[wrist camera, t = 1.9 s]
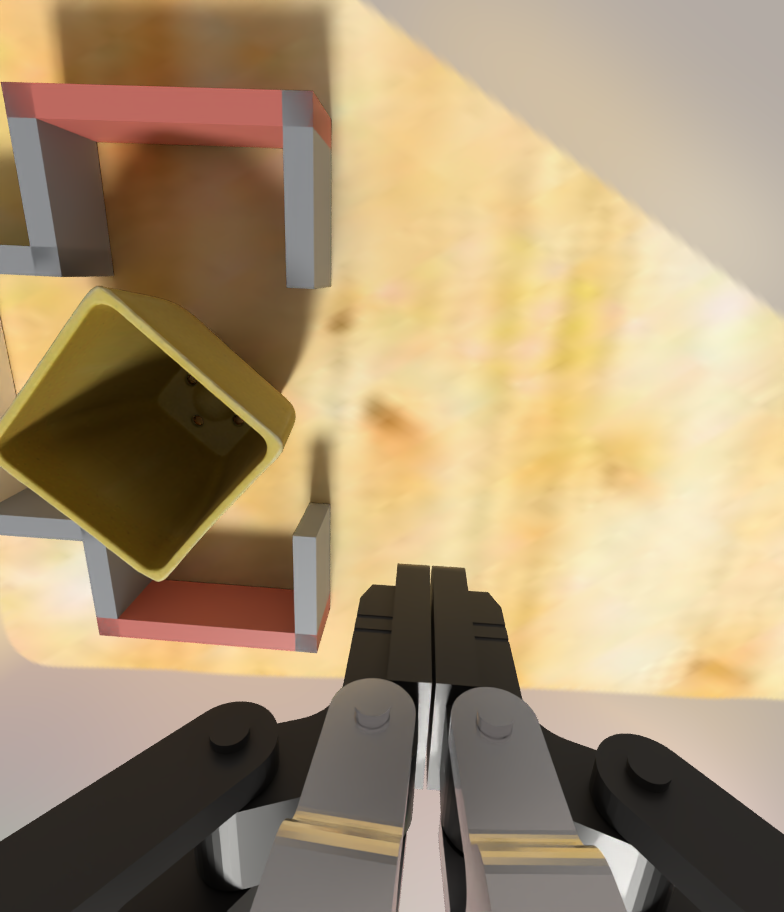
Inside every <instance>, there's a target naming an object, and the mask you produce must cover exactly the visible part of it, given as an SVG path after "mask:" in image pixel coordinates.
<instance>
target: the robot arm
mask: <svg viewBox="0 0 784 912" xmlns="http://www.w3.org/2000/svg"><path fill="white" fill-rule="evenodd" d="M426 748H427V789H429V790H440V805H441V815H440V825H439V850H440V860H441V871H442V881H443V891H444V902H445V912H784V834H782V833H781V832H780V831H778V830H777V829H776V828H774V827H773V826H772V825H770V824H769V823H768V822H766V821H765V820H763V819H762V818H761V817H760V816H758V815H757V814H756V813H754V812H753V811H752V810H750V809H749V808H748V807H746V806H745V805H744V804H742V803H741V802H740V801H738V800H737V799H736V798H734V797H733V796H732V795H730V794H729V793H728V792H726V791H725V790H724V789H722V788H721V787H720V786H718V785H717V784H716V783H714V782H713V781H711V780H710V779H709V778H707V777H706V776H705V775H704V774H702V773H701V772H699V771H698V770H697V769H695V768H694V767H693V766H691V765H690V764H689V763H687V762H686V761H685V760H683V759H682V758H681V757H679V756H678V755H677V754H675V753H674V752H673V751H671V750H670V749H668V748H667V747H665V746H664V745H662V744H660V743H658V742H656V741H654V740H651V739H649V738H646V737H643V736H640V735H634V734H616V735H613V736H610V737H608V738H606V739H605V740H603V741H602V742H601V744H600V745H599V747H598V749H597V750H594V749H591V748H589V747H586V746H583V745H580V744H577V743H574V742H572V741H569V740H566V739H564V738H561V737H559V736H557V735H555V734H553V733H551V732H550V731H549V730H547V729H546V728H544V727H543V726H542V725H540V724H539V722H538V719H537V717H536V715H535V713H534V712H533V710H532V709H531V708H530V707H529V706H528V704H527V703H525V702H524V701H523V700H522V696H521V692H520V687H519V683H518V679H517V674H516V670H515V666H514V661H513V657H512V653H511V648H510V644H509V642H508V635H507V631H506V628H505V622H504V618H503V613H502V609H501V607H500V606H499V604H498V603H497V602H496V601H495V600H494V599H493V597H492V596H491V595H490V594H489V593H488V592H475V591H468V586H467V579H466V572H465V568H458V567H443V566H432V571H431V583H430V566H427V565H412V564H398V566H397V577H396V586H387V585H372V586H371V587H370V588H369V589H368V590H367V591H366V592H365V593H364V594H363V596H362V597H361V598H360V602H359V607H358V613H357V618H356V623H355V628H354V633H353V638H352V643H351V648H350V653H349V658H348V663H347V668H346V673H345V678H344V683H343V687H342V688H341V689H340V690H339V691H338V692H337V693H336V694H335V696H334V697H333V699H332V701H331V703H330V705H329V706H328V707H327V708H325V709H324V710H322V711H320V712H318V713H317V714H314V715H312V716H309V717H306V718H302V719H297V720H292V721H288V722H283V723H278V724H277V722H276V720H275V718H274V716H273V715H272V714H271V713H270V712H269V710H267V709H266V708H264V707H263V706H260V705H258V704H255V703H252V702H231V703H226V704H222V705H219V706H217V707H214V708H212V709H210V710H209V711H207V712H205V713H204V714H202V715H200V716H199V717H197V718H196V719H194V720H192V721H191V722H189V723H188V724H186V725H184V726H183V727H182V728H180V729H178V730H176V731H175V732H173V733H172V734H170V735H169V736H167V737H165V738H164V739H162V740H161V741H159V742H158V743H156V744H154V745H153V746H151V747H149V748H148V749H146V750H145V751H143V752H142V753H140V754H138V755H137V756H135V757H134V758H132V759H130V760H129V761H127V762H126V763H124V764H123V765H121V766H119V767H118V768H116V769H115V770H113V771H111V772H110V773H108V774H107V775H105V776H103V777H102V778H100V779H99V780H97V781H96V782H94V783H92V784H91V785H89V786H88V787H86V788H84V789H83V790H81V791H80V792H78V793H76V794H75V795H73V796H72V797H70V798H69V799H67V800H66V801H64V802H62V803H61V804H59V805H57V806H56V807H54V808H53V809H51V810H50V811H48V812H46V813H45V814H43V815H42V816H40V817H39V818H37V819H35V820H34V821H32V822H31V823H29V824H27V825H26V826H24V827H23V828H21V829H19V830H18V831H16V832H15V833H13V834H11V835H10V836H8V837H7V838H5V839H4V840H2V841H0V912H399V905H400V896H401V886H402V877H403V868H404V858H405V848H406V838H407V831H408V828H409V826H410V824H411V820H412V813H413V812H412V811H413V799H414V789H423V783H424V771H425V758H426Z"/></svg>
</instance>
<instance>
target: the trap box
mask: <svg viewBox="0 0 784 912" xmlns="http://www.w3.org/2000/svg"><path fill="white" fill-rule="evenodd" d="M1 86H2V91H3V97H4V102H5V108H6V114H7V119H8V125H9V130H10V136H11V142H12V147H13V153H14V158H15V164H16V169H17V175H18V181H19V186H20V192H21V197H22V203H23V209H24V214H25V220H26V225H27V231H28V237H29V242H30V246H14V245H0V274H13V275H34V276H55V277H89V276H114V273H113V265H112V257H111V250H110V242H109V234H108V227H107V219H106V211H105V204H104V196H103V188H102V181H101V173H100V165H99V158H98V150H97V142H114V143H143V144H172V145H201V146H230V147H259V148H283V162H284V203H285V244H286V285H287V288H306V289H317V288H324V287H331V118H330V117H329V115H328V114H327V112H326V111H325V109H324V108H323V106H322V104H321V103H320V101H319V100H318V98H317V97H316V95H315V94H314V92H313V91H301V90H266V89H231V88H196V87H161V86H126V85H91V84H57V83H22V82H1ZM15 398H16V393H15V388H14V383H13V378H12V373H11V368H10V364H9V359H8V354H7V349H6V344H5V339H4V334H3V330H2V325H1V320H0V419H1V418H2V416H3V415H4V414H5V412H6V411H7V410H8V408H9V407H10V405H11V404H12V402H13V401H14V399H15ZM0 535H7V536H21V537H35V538H48V539H62V540H75V541H83V544H84V550H85V556H86V561H87V567H88V572H89V578H90V584H91V589H92V595H93V600H94V606H95V611H96V617H97V623H98V628H99V634H100V635H105V636H117V637H129V638H141V639H153V640H165V641H178V642H190V643H202V644H214V645H226V646H238V647H250V648H262V649H274V650H286V651H298V652H310V653H317V651H318V648H319V644H320V641H321V637H322V634H323V631H324V627H325V624H326V620H327V617H328V614H329V610H330V504H319V503H309V505H308V507H307V509H306V511H305V513H304V515H303V517H302V519H301V521H300V523H299V525H298V526H297V528H296V530H295V532H294V534H293V571H294V590H291V589H278V588H265V587H252V586H239V585H226V584H213V583H200V582H187V581H174V580H162V581H160V582H158V581H155V580H153V579H151V578H149V577H147V576H145V575H143V574H142V573H140V572H138V571H137V570H135V569H134V568H133V567H132V566H130V565H129V564H128V563H126V562H125V561H124V560H122V559H121V558H120V557H119V556H117V555H116V554H115V553H113V552H112V551H111V550H109V549H108V548H107V547H105V546H104V545H103V544H102V543H101V542H99V541H98V540H97V539H96V538H94V537H93V536H92V535H91V534H89V533H88V532H86V531H85V530H84V529H83V528H81V527H80V526H79V525H78V524H76V523H75V522H74V521H72V520H71V519H70V518H68V517H67V516H66V515H64V514H63V513H62V512H60V511H59V510H58V509H56V508H55V507H54V506H52V505H51V504H49V503H48V502H47V501H46V500H44V499H43V498H42V497H40V496H39V495H38V494H36V493H35V492H34V491H32V490H31V489H30V488H28V487H27V486H25V485H24V484H23V483H21V482H20V481H18V480H17V479H16V478H14V477H13V476H12V475H10V474H9V473H8V472H7V471H5V470H4V469H3V468H2V467H0Z"/></svg>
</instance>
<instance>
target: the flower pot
mask: <svg viewBox="0 0 784 912" xmlns="http://www.w3.org/2000/svg"><path fill="white" fill-rule="evenodd" d="M190 374H191V375H192V376H193V377H194V378H195V379H196V380H197V383H196V384H194V385H192V384H190V383H189V382H188V380H187V377H188V375H190ZM236 415H238V416H239V417H240V418H242V419H243V420H244V422H243V424H241V425H238V424H236V423H235V422H234V416H236ZM195 416H200V417H201V418H202V419H203V424H202V425H197V424H196V423H195V422H194V417H195ZM295 417H296V416H295V410H294V408H293V406H292V404H291V403H290V402H289V401H288V400H287V399H286V398H285V397H284V396H283V395H282V394H281V393H280V392H278V391H277V390H276V389H275V388H274V387H273V386H271V385H270V384H269V383H268V382H267V381H266V380H265V379H264V378H262V377H261V376H260V375H259V374H258V373H257V372H256V371H255V370H253V369H252V368H251V367H250V366H249V365H248V364H247V363H246V362H244V361H243V360H242V359H241V358H240V357H239V356H238V355H237V354H236V353H234V352H233V351H232V350H231V349H230V348H229V347H228V346H227V345H226V344H224V343H223V342H222V341H221V340H220V339H219V338H218V337H217V336H216V335H215V334H213V333H212V332H211V331H210V330H209V329H208V328H207V327H206V326H205V325H204V324H203V323H202V322H201V321H200V320H198V319H197V318H196V317H195V316H194V315H192V314H191V313H190V312H188V311H187V310H186V309H184V308H182V307H181V306H179V305H177V304H175V303H173V302H171V301H168V300H165V299H161V298H157V297H153V296H148V295H143V294H139V293H133V292H128V291H123V290H118V289H113V288H107V287H103V286H96V287H94V288H93V289H92V290H90V291H89V293H88V294H87V295H86V296H85V297H84V299H83V300H82V301H81V303H80V304H79V306H78V307H77V309H76V310H75V311H74V313H73V314H72V316H71V317H70V319H69V320H68V321H67V323H66V324H65V326H64V327H63V329H62V330H61V332H60V333H59V335H58V336H57V338H56V339H55V341H54V342H53V344H52V345H51V347H50V348H49V350H48V351H47V353H46V354H45V356H44V357H43V358H42V360H41V361H40V363H39V364H38V365H37V367H36V369H35V370H34V372H33V373H32V375H31V376H30V378H29V379H28V381H27V382H26V384H25V385H24V387H23V388H22V389H21V391H20V392H19V394H18V395H17V396H16V398H15V399H14V401H13V402H12V404H11V405H10V407H9V408H8V410H7V411H6V412H5V414H4V415H3V416H2V418H1V419H0V467H2V468H3V469H4V470H5V471H7V472H8V473H9V474H10V475H12V476H13V477H14V478H16V479H17V480H18V481H20V482H21V483H23V484H24V485H25V486H27V487H28V488H30V489H31V490H32V491H34V492H35V493H36V494H38V495H39V496H40V497H42V498H43V499H44V500H46V501H47V502H48V503H49V504H51V505H52V506H54V507H55V508H56V509H58V510H59V511H60V512H62V513H63V514H64V515H66V516H67V517H68V518H70V519H71V520H72V521H74V522H75V523H76V524H78V525H79V526H80V527H81V528H83V529H84V530H85V531H86V532H88V533H89V534H91V535H92V536H93V537H94V538H96V539H97V540H98V541H99V542H101V543H102V544H103V545H104V546H105V547H107V548H108V549H109V550H111V551H112V552H113V553H115V554H116V555H117V556H119V557H120V558H121V559H122V560H124V561H125V562H126V563H128V564H129V565H130V566H132V567H133V568H134V569H135V570H137V571H138V572H140V573H142V574H143V575H145V576H147V577H149V578H151V579H153V580H155V581H158V582H160V581H162V580H164V579H166V578H167V577H168V575H169V574H170V573H171V572H172V571H173V570H174V569H175V568H176V566H177V565H178V564H179V563H180V562H181V561H182V559H183V558H184V557H185V556H186V555H187V554H188V552H189V551H190V550H191V549H192V548H193V547H194V546H195V544H196V543H197V542H198V541H199V540H200V539H201V538H202V536H203V535H204V534H205V533H206V532H207V531H208V530H209V529H210V528H211V526H212V525H213V524H214V523H215V522H216V521H217V520H218V519H219V518H220V517H221V516H222V515H223V514H224V513H225V511H226V510H227V509H228V508H229V507H230V506H231V505H232V504H233V503H234V502H235V501H236V500H237V499H238V498H239V497H240V496H241V495H242V494H243V493H244V492H245V491H246V490H247V489H248V488H249V486H250V485H251V484H252V483H253V482H254V481H255V480H256V479H257V478H258V477H259V476H260V475H261V474H262V473H263V472H264V471H265V470H266V469H267V468H268V467H269V466H270V465H271V464H272V463H273V462H274V461H275V460H276V459H277V458H278V457H279V456H280V454H281V453H282V451H283V449H284V446H285V444H286V442H287V439H288V437H289V435H290V432H291V430H292V428H293V425H294V422H295Z"/></svg>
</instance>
